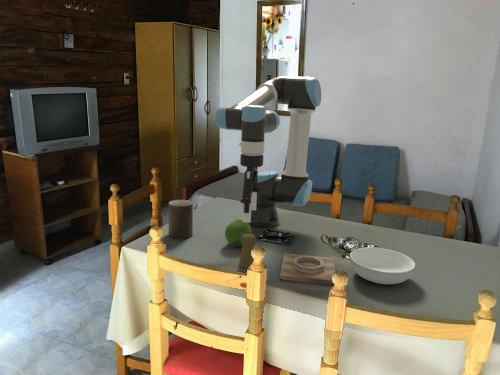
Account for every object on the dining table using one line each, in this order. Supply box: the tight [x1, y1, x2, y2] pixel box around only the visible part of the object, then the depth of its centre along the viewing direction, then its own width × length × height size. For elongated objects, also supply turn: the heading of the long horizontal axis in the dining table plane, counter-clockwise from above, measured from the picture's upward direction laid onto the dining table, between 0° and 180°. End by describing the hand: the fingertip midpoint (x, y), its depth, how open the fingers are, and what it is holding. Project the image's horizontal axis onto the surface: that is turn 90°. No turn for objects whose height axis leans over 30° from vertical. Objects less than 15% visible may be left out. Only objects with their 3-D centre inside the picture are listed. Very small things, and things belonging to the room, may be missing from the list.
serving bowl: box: [349, 246, 416, 285], centre depth 140 cm, size 21×21×7 cm
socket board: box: [279, 252, 336, 286], centre depth 144 cm, size 18×18×3 cm
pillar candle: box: [168, 199, 194, 240], centre depth 170 cm, size 10×10×15 cm
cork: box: [238, 233, 257, 269], centre depth 145 cm, size 6×6×11 cm
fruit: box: [224, 219, 253, 248], centre depth 164 cm, size 15×10×10 cm, turn 161°
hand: (249, 215), depth 142 cm, fingers open, 13 cm apart
